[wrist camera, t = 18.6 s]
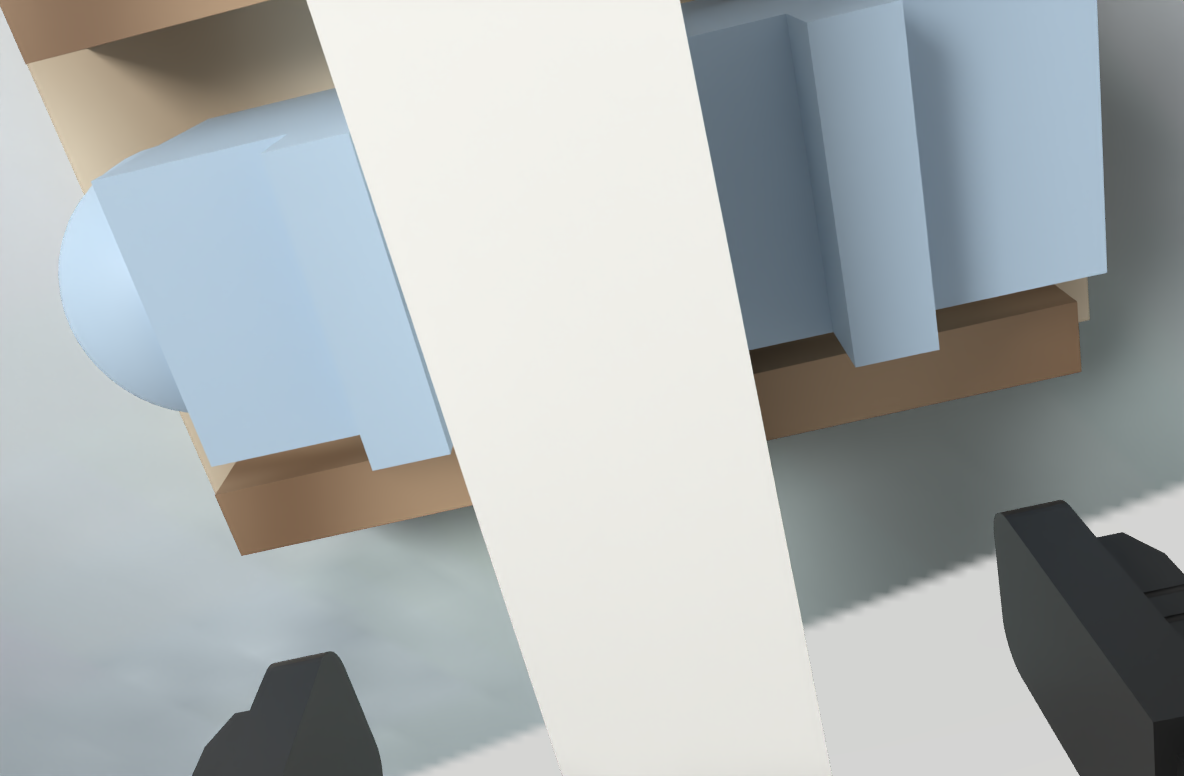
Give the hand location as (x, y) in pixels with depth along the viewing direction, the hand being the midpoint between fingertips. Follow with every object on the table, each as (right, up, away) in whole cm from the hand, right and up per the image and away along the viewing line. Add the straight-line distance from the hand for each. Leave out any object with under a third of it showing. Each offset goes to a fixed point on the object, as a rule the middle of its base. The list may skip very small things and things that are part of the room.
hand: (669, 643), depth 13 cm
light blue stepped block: (-1, +7, +5) cm, 8 cm away
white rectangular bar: (-1, +5, +1) cm, 5 cm away
